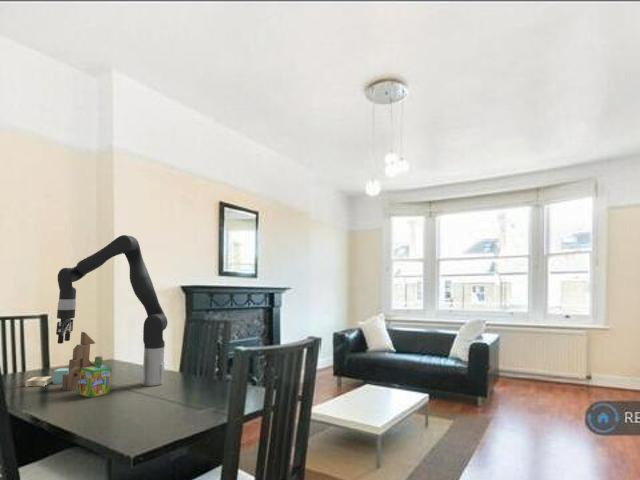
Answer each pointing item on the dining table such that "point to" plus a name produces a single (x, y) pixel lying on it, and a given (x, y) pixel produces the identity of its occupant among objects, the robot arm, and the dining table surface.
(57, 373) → the teal cube
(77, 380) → the wooden toy
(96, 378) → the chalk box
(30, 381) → the maple pedestal
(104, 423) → the dining table surface
